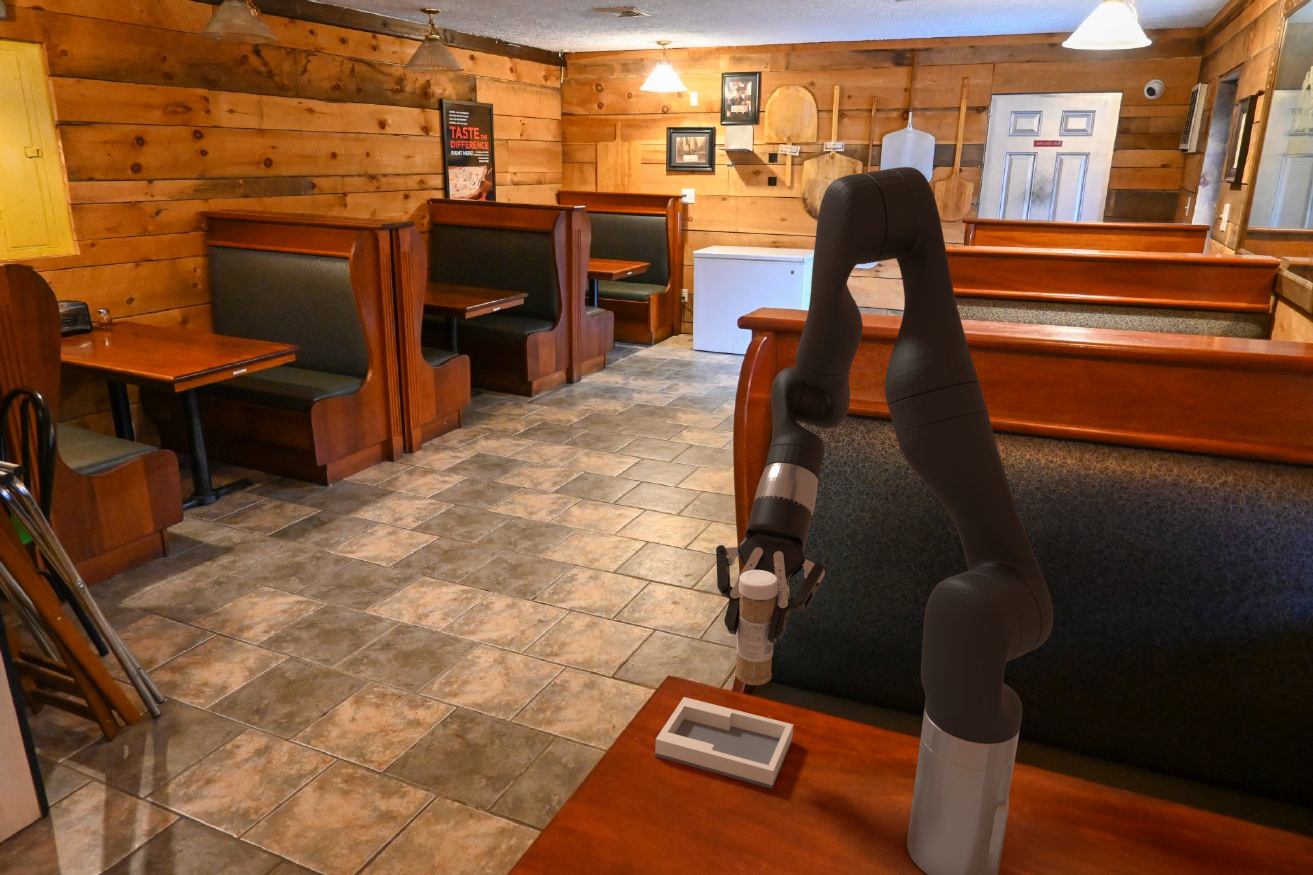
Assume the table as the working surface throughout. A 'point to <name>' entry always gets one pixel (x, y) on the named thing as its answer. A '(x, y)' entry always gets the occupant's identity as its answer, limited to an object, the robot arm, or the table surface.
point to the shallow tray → (725, 741)
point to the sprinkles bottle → (755, 626)
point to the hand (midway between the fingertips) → (751, 636)
